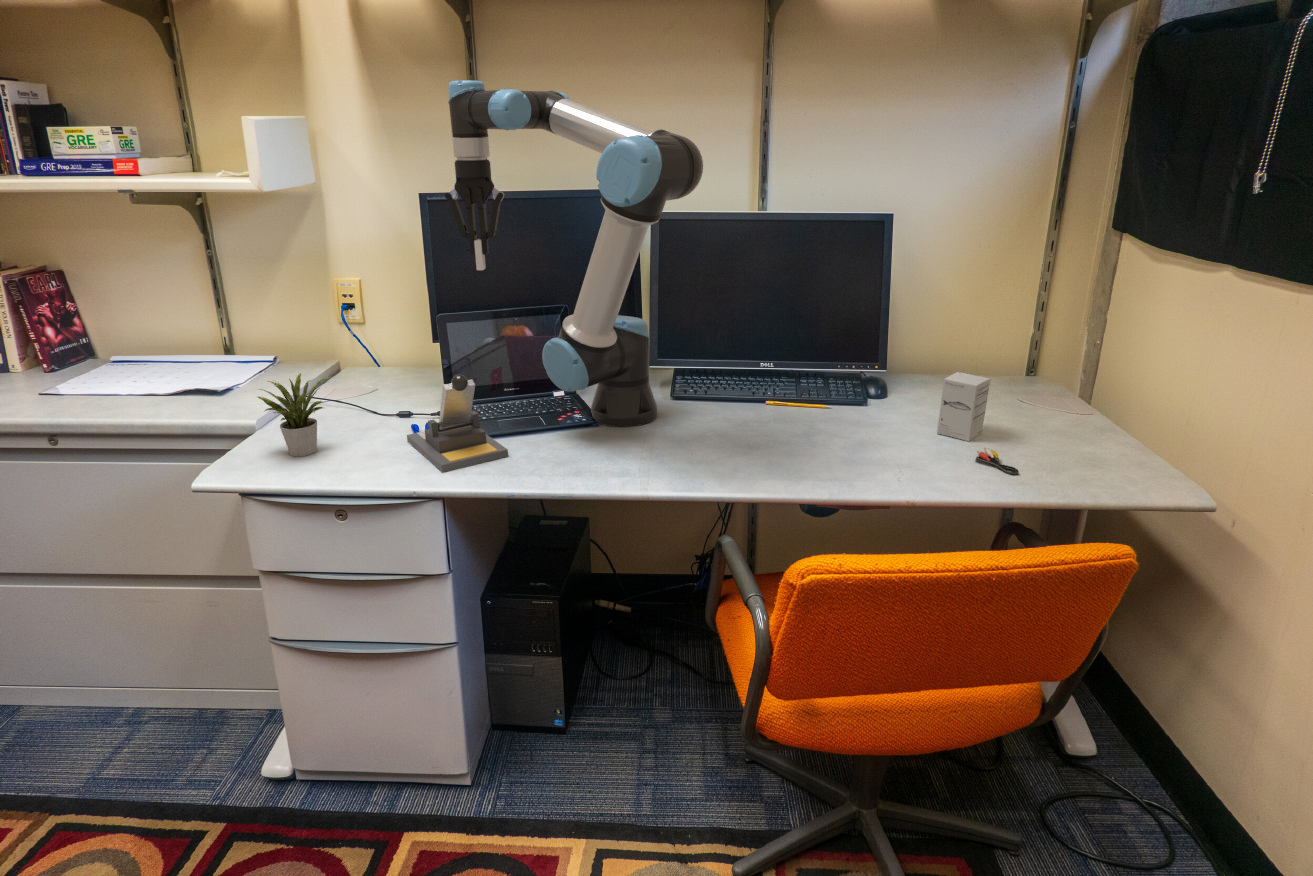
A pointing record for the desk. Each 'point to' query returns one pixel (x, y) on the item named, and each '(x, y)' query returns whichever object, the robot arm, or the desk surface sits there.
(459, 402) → the toggle lever
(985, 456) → the composite cable
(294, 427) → the house plant
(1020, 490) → the desk surface
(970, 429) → the supplement box
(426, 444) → the switch unit
